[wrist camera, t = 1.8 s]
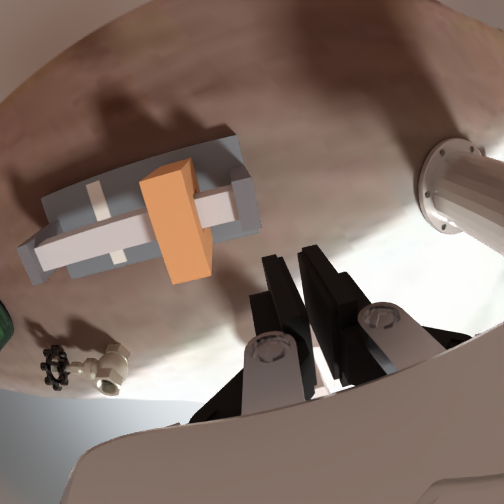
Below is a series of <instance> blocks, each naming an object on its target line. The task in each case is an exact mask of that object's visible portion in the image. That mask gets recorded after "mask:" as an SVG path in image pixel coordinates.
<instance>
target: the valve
mask: <svg viewBox="0 0 504 504" xmlns="http://www.w3.org/2000/svg"><path fill="white" fill-rule="evenodd" d="M59 349H60V348H59V346H58V345H51V349H44V350H43V354H44V356H45V357H46V363H45V362H42V363H41V365H40V367H41V369H42V370H43V371H46V373H47V377H45V384H46V385H53V389H54V390H55V391H61V390H62V387H59V383H60V384H61V385H66V386H67V385H68V376H67V375H69V374H70V372H71V373H72V374H73V375H83V374H85V375H86V377H87V378H88V379H89V380H94V387H95V388H96V389H97V390H98V391H100V392H101V393H103V394H105V395H109V396H115V395H118V394H119V391H120V387H121V383H122V382H123V381H124V380H125V379H126V377H127V375H128V365H127V363H128V360H129V357H130V352H129V351H128V350H127V349H126V348H125V347H124V346H122V345H121V344H108V346H107V348H106V350H105V354H104V355H103V356H102V357H101V358H100V359H99V360H97V359H95V358H87V359H86V360H85V362H84V363H83V364H82V363H81V362H72V363H71V365H70V364H69V361H68V359H67V355H66V353H65V352H59V353H57V350H59ZM51 351H52V352H51ZM53 357H56V358H57V359H58V361H57V362H54V361H51V360H52V358H53ZM51 366H52V371H53V373H55V374H58V375H59V377H58V378H57V379H55V378H54V376H53V375H52V372H51Z"/></svg>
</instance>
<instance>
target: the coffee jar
mask: <svg viewBox="0 0 504 504" xmlns="http://www.w3.org/2000/svg"><path fill="white" fill-rule="evenodd" d="M13 333H14V327H13V324H12V321H11V318H10V316H9V314H8V313H7V311H6V310H5V308H4V307H3V306H2V305H1V303H0V351H1V350H2V348H3V347H4V346H5V345H6V343H7V342H8V341H9V340H10V338H11V337H12V336H13Z"/></svg>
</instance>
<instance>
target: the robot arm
mask: <svg viewBox="0 0 504 504" xmlns="http://www.w3.org/2000/svg"><path fill="white" fill-rule="evenodd" d="M418 190H419V202H420V207H421V210H422V213H423V215H424V217H425V219H426V221H427V222H428V223H429V224H430V225H431V226H432V227H433V228H435V229H436V230H438V231H439V232H441V233H444V234H457V233H460V232H462V231H464V232H465V233H467V234H469V235H470V236H472V237H474V238H475V239H477V240H479V241H480V242H482V243H484V244H485V245H487V246H489V247H490V248H492V249H493V250H495V251H496V252H498V253H500V254H501V255H503V256H504V162H503V161H499V160H496V159H492V158H488V157H485V156H482V154H481V152H480V151H479V149H478V148H477V147H476V146H475V145H474V144H472V143H471V142H469V141H467V140H464V139H460V138H449V139H446V140H443V141H442V142H440V143H439V144H437V145H436V146H435V147H434V148H433V149H432V150H431V152H430V153H429V155H428V156H427V158H426V160H425V162H424V164H423V167H422V170H421V174H420V178H419V186H418ZM298 262H299V268H300V274H301V280H302V287H303V293H304V300H305V306H304V303H303V301H302V299H301V297H300V294H299V292H298V290H297V288H296V285H295V283H294V281H293V279H292V277H291V274H290V272H289V270H288V268H287V266H286V263H285V261H284V259H283V257H279V258H277V256H276V254H274V255H270V256H266V257H262V263H263V268H264V272H265V277H266V281H267V286H268V290H269V291H266V292H262V293H258V294H254V295H249V298H250V304H251V310H252V315H253V321H254V326H255V332H256V337H254V338H253V339H252V340H250V341H249V343H248V344H247V345H246V348H245V351H244V368H243V369H242V370H241V371H240V372H239V373H238V374H237V375H236V376H235V377H234V378H233V379H231V380H230V381H229V382H228V383H227V384H226V385H225V386H224V387H223V388H222V389H221V390H220V391H219V392H218V393H217V394H216V395H215V396H214V397H212V398H211V399H210V400H209V401H208V402H207V403H206V404H205V405H204V406H203V407H202V408H201V409H199V410H198V411H197V412H196V413H195V414H194V416H193V417H192V418H191V419H190V421H189V423H188V424H185V425H181V424H180V423H176V424H173V425H170V426H167V427H164V428H156V429H151V430H146V431H140V432H135V433H131V434H127V435H124V436H120V437H116V438H114V439H111V440H109V441H106V442H103V443H101V444H99V445H97V446H95V447H93V448H91V449H89V450H88V451H86V452H85V453H84V454H83V455H82V456H81V457H80V458H79V459H78V460H77V462H76V463H75V465H74V466H73V468H72V470H71V472H70V474H69V476H68V479H67V482H66V484H65V487H64V490H63V493H62V496H61V500H60V504H504V322H502V323H500V324H498V325H496V326H494V327H493V328H491V329H489V330H487V331H485V332H483V333H480V334H476V335H475V337H471V336H469V335H466V334H462V333H457V332H451V331H446V330H440V329H435V328H430V327H425V326H420V325H419V324H418V323H417V322H416V321H415V320H414V319H413V318H412V317H411V316H410V315H408V314H407V313H406V312H405V311H404V310H403V309H402V308H401V307H399V306H397V305H395V304H392V303H388V302H377V303H373V304H371V302H370V301H369V300H368V298H367V297H366V296H365V294H364V293H363V292H362V291H361V289H360V288H359V287H358V285H357V284H356V283H355V282H354V280H353V279H352V278H351V276H350V275H349V274H348V273H347V272H342V273H338V272H337V271H336V270H335V268H334V267H333V266H332V264H331V263H330V261H329V260H328V259H327V257H326V256H325V255H324V254H323V252H322V251H321V250H320V248H319V247H318V246H317V245H312V246H308V247H304V248H302V252H299V253H298ZM305 307H306V308H305ZM310 325H311V327H312V330H313V332H314V334H315V337H316V339H317V341H318V344H319V346H320V348H321V351H322V353H323V355H324V358H325V360H326V363H327V365H328V367H329V370H330V372H331V375H332V377H333V379H334V380H337V379H339V380H340V382H341V384H342V387H345V386H348V385H355V386H354V387H351V388H348V389H345V390H341V391H338V392H335V393H331V394H328V395H325V396H321V397H318V398H314V399H311V398H312V397H313V396H314V394H315V388H314V386H316V385H317V377H316V369H315V361H314V353H313V345H312V337H311V329H310Z"/></svg>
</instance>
